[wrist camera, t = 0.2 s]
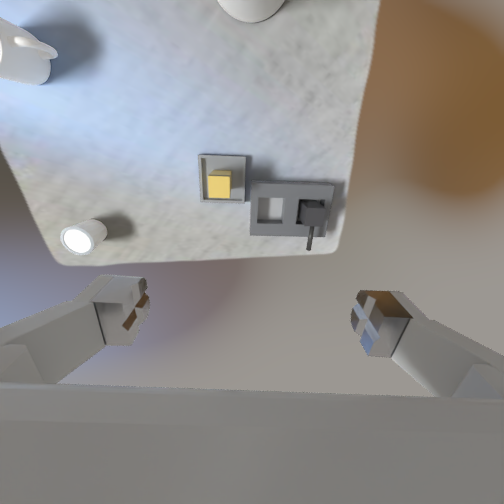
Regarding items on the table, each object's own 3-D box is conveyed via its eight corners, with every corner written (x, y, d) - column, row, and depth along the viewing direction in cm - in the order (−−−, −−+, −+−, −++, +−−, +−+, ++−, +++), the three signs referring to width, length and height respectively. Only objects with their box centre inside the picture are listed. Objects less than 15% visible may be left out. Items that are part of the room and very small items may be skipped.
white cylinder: (116, 233, 58) (100, 244, 51) (97, 248, 59) (80, 261, 53) (92, 210, 55) (73, 220, 49) (73, 227, 56) (52, 238, 50)
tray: (199, 154, 50) (197, 154, 49) (245, 156, 51) (245, 156, 50) (201, 200, 55) (200, 202, 54) (244, 202, 55) (244, 203, 54)
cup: (-8, 28, 41) (-80, -3, 31) (63, 28, 41) (12, -3, 32) (14, 86, 44) (-45, 73, 35) (79, 85, 45) (38, 72, 35)
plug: (213, 169, 51) (207, 175, 43) (231, 170, 52) (229, 176, 44) (213, 188, 53) (208, 197, 45) (231, 189, 53) (229, 198, 45)
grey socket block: (251, 180, 53) (252, 186, 46) (329, 183, 54) (341, 189, 47) (249, 237, 59) (250, 250, 53) (319, 239, 60) (329, 251, 54)
